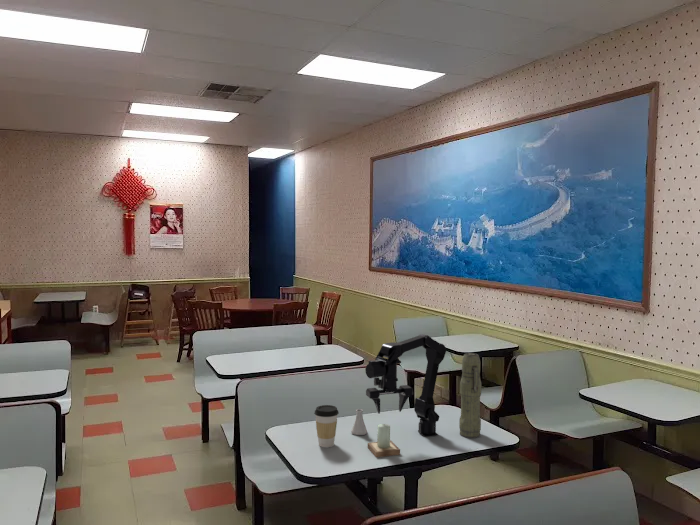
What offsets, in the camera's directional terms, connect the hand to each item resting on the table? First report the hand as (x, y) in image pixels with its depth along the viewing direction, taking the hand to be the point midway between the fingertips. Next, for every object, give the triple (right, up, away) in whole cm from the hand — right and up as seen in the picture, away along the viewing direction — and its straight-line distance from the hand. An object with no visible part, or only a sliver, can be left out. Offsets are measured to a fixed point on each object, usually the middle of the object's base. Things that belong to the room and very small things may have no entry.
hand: (389, 412), depth 230 cm
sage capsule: (-3, -11, -7) cm, 14 cm away
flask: (-12, -12, +13) cm, 22 cm away
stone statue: (+35, -13, +12) cm, 39 cm away
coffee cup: (-26, -13, -1) cm, 29 cm away
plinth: (-3, -13, -7) cm, 16 cm away
